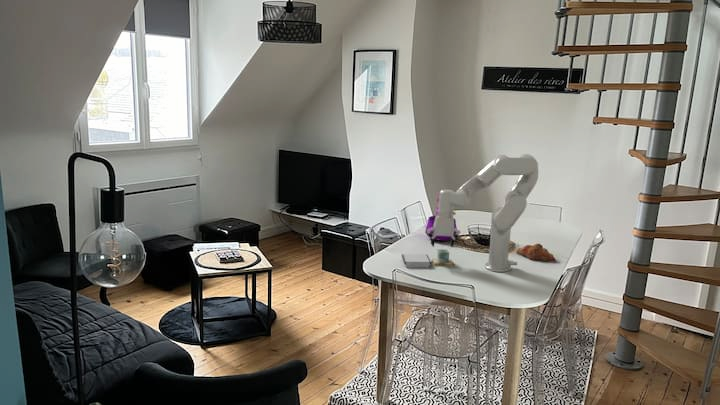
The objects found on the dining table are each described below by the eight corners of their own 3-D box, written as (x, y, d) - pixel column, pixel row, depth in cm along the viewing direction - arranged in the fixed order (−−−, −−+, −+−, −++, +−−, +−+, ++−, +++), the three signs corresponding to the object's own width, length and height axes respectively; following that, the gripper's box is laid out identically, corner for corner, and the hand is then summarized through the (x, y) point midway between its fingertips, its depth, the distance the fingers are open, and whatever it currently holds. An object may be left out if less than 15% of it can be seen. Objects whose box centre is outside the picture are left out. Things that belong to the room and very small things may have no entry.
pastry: (524, 262, 278) (525, 248, 276) (515, 253, 293) (516, 239, 291) (555, 262, 278) (557, 248, 276) (545, 253, 293) (546, 239, 291)
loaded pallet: (451, 261, 276) (451, 249, 274) (453, 265, 270) (454, 252, 268) (432, 261, 275) (432, 249, 274) (434, 265, 269) (434, 252, 268)
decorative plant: (455, 235, 323) (458, 187, 316) (457, 244, 305) (461, 193, 298) (424, 233, 324) (427, 186, 317) (425, 242, 306) (427, 192, 299)
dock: (427, 259, 278) (427, 254, 277) (430, 267, 266) (431, 261, 266) (401, 259, 277) (401, 253, 277) (404, 267, 266) (404, 261, 265)
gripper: (460, 212, 270) (457, 244, 274) (427, 211, 270) (424, 243, 274) (463, 216, 263) (460, 249, 267) (429, 215, 262) (426, 247, 266)
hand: (442, 246), depth 270 cm, fingers open, 9 cm apart
